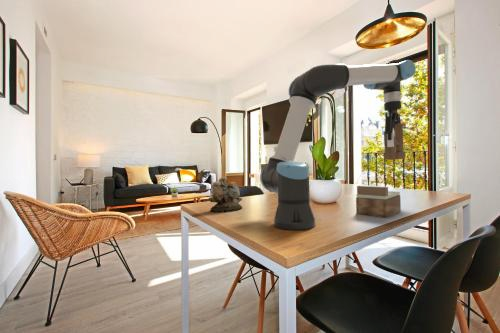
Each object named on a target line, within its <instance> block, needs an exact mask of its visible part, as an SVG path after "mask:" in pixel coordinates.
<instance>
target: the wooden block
mask: <svg viewBox="0 0 500 333" xmlns="http://www.w3.org/2000/svg"><path fill="white" fill-rule="evenodd" d="M394 134H395V137H394V147H387V134H385V131H384V132H383V142H384V160H385V161H393V160H394V161H395V160H405V159H406V151H405V150H404V124H403V123H402V122H401V123H399V124H395V133H394Z"/></svg>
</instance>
